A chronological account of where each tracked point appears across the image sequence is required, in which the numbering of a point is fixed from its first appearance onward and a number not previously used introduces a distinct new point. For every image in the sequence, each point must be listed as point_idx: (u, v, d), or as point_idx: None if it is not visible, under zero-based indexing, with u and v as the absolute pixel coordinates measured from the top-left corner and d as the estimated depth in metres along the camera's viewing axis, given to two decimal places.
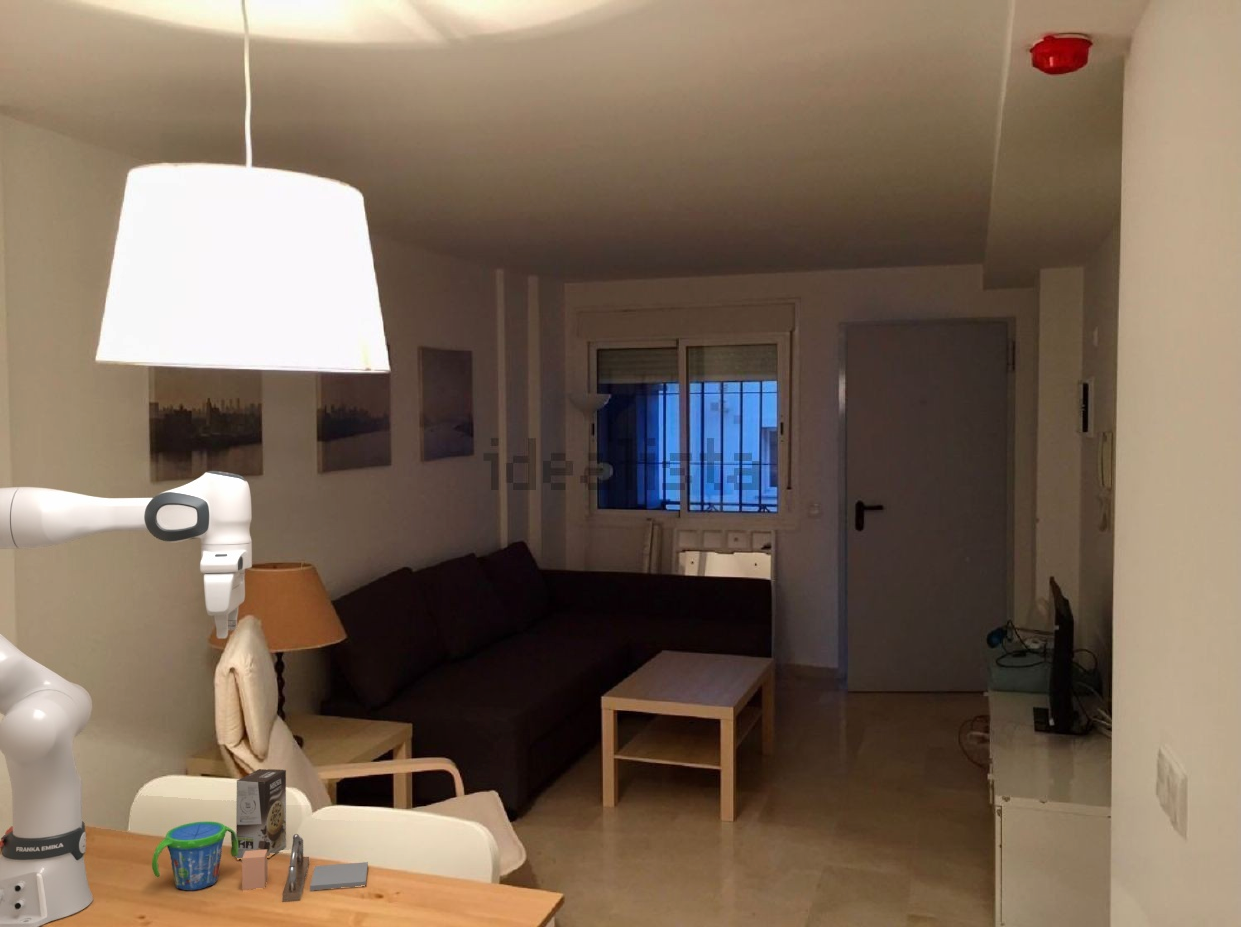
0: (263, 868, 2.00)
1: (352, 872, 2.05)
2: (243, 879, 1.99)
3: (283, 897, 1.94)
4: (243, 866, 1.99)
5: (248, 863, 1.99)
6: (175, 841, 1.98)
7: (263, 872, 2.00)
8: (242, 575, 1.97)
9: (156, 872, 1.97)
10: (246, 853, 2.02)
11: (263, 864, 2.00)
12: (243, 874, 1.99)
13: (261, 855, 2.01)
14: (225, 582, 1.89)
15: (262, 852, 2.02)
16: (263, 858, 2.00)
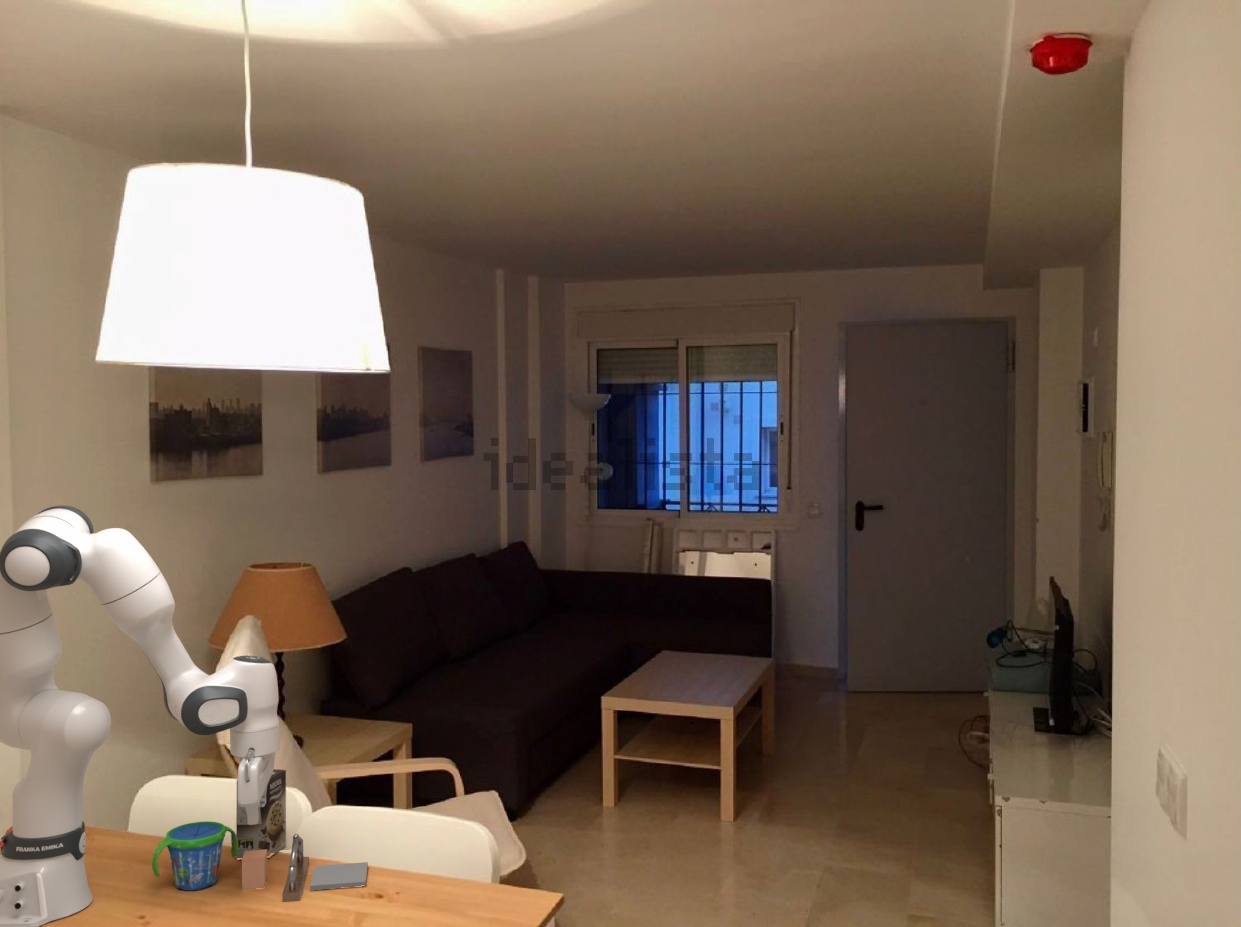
0: (263, 868, 2.00)
1: (352, 872, 2.05)
2: (243, 879, 1.99)
3: (283, 897, 1.94)
4: (243, 866, 1.99)
5: (248, 863, 1.99)
6: (175, 841, 1.98)
7: (263, 872, 2.00)
8: None
9: (156, 872, 1.97)
10: (246, 853, 2.02)
11: (263, 864, 2.00)
12: (243, 874, 1.99)
13: (261, 855, 2.01)
14: None
15: (262, 852, 2.02)
16: (263, 858, 2.00)
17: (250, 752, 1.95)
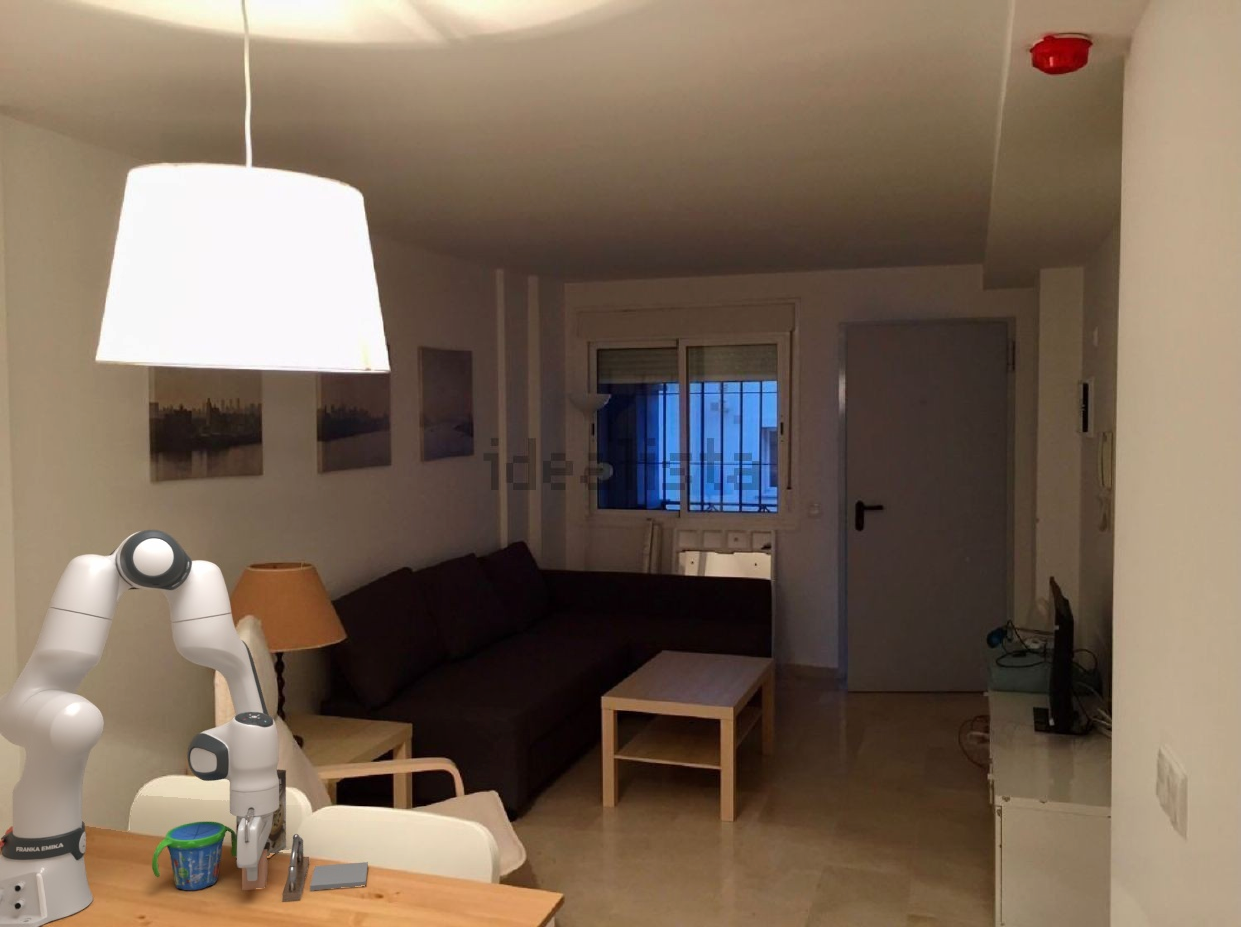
0: (263, 868, 2.00)
1: (352, 872, 2.05)
2: (243, 879, 1.99)
3: (283, 897, 1.94)
4: None
5: None
6: (175, 841, 1.98)
7: (263, 872, 2.00)
8: None
9: (156, 872, 1.97)
10: None
11: (263, 864, 2.00)
12: (243, 874, 1.99)
13: (261, 855, 2.01)
14: None
15: (262, 852, 2.02)
16: (263, 858, 2.00)
17: (250, 812, 1.95)
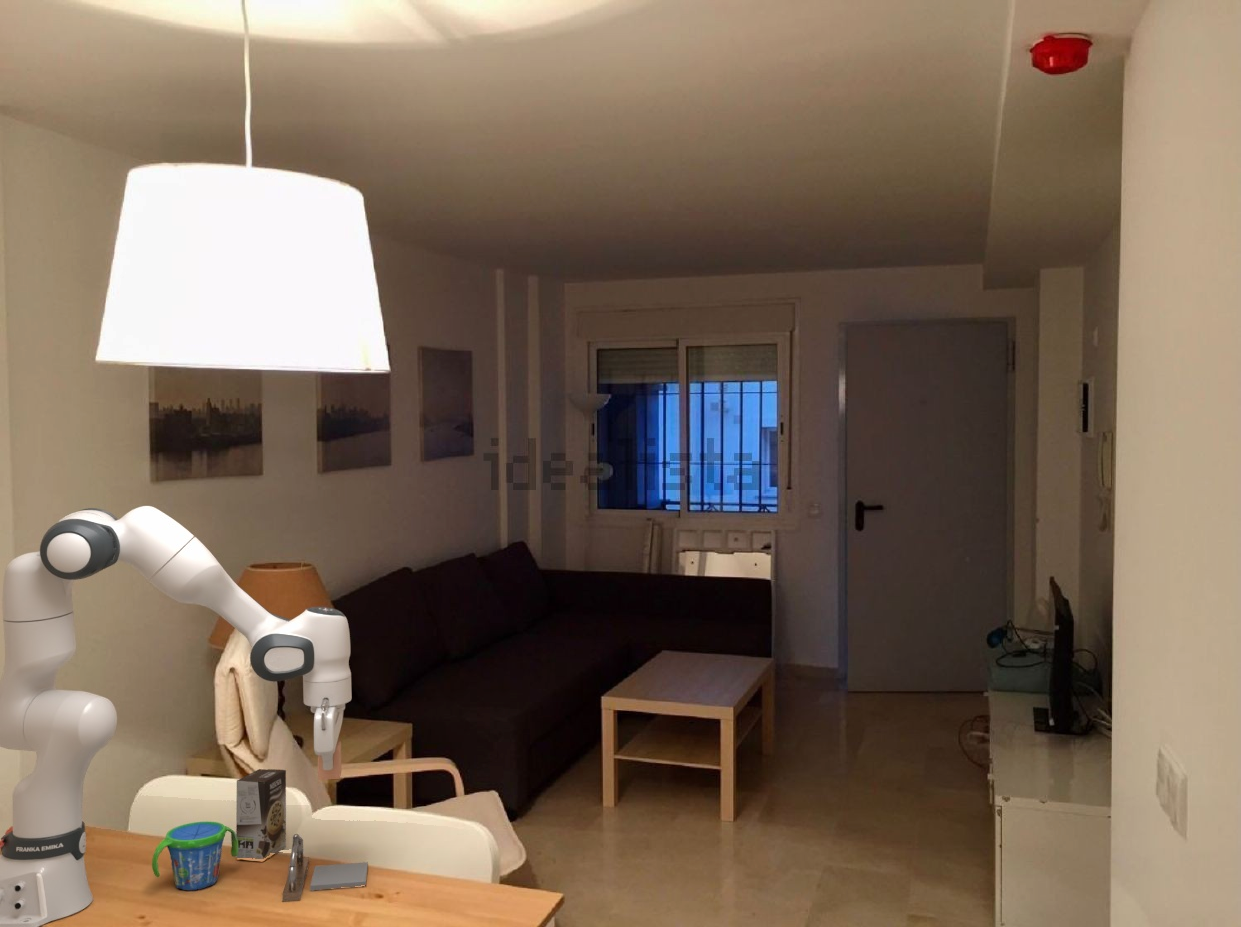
0: (338, 758, 2.02)
1: (352, 872, 2.05)
2: (319, 768, 2.02)
3: (283, 897, 1.94)
4: (318, 756, 2.01)
5: None
6: (175, 841, 1.98)
7: (338, 762, 2.02)
8: None
9: (156, 872, 1.97)
10: None
11: (338, 754, 2.02)
12: (319, 763, 2.01)
13: (336, 746, 2.03)
14: None
15: None
16: (338, 748, 2.02)
17: (325, 701, 1.97)
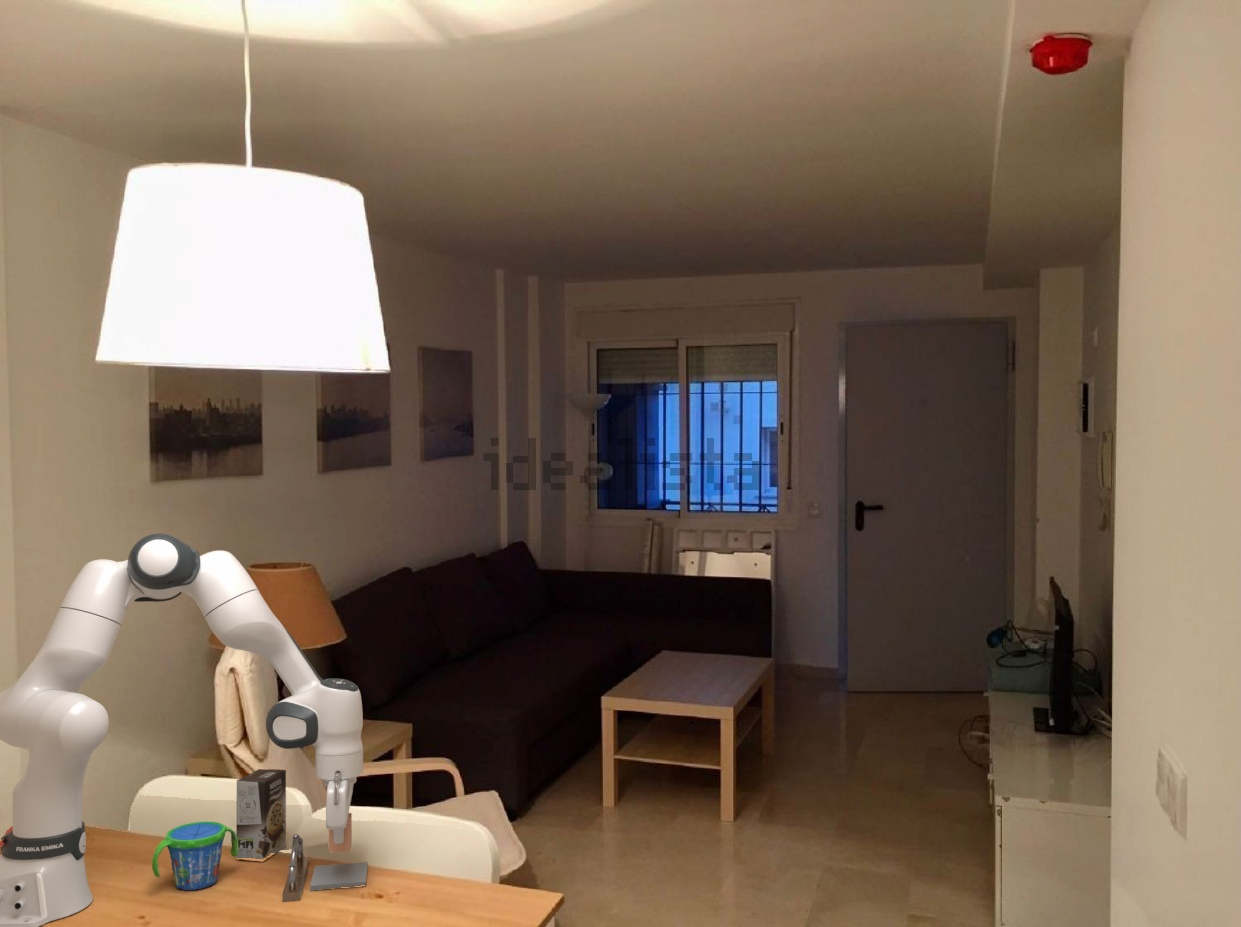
0: (349, 831, 2.03)
1: (352, 872, 2.05)
2: (330, 841, 2.02)
3: (283, 897, 1.94)
4: None
5: None
6: (175, 841, 1.98)
7: (349, 835, 2.03)
8: None
9: (156, 872, 1.97)
10: None
11: (349, 827, 2.03)
12: (330, 836, 2.02)
13: None
14: None
15: None
16: (349, 821, 2.03)
17: (338, 775, 1.98)
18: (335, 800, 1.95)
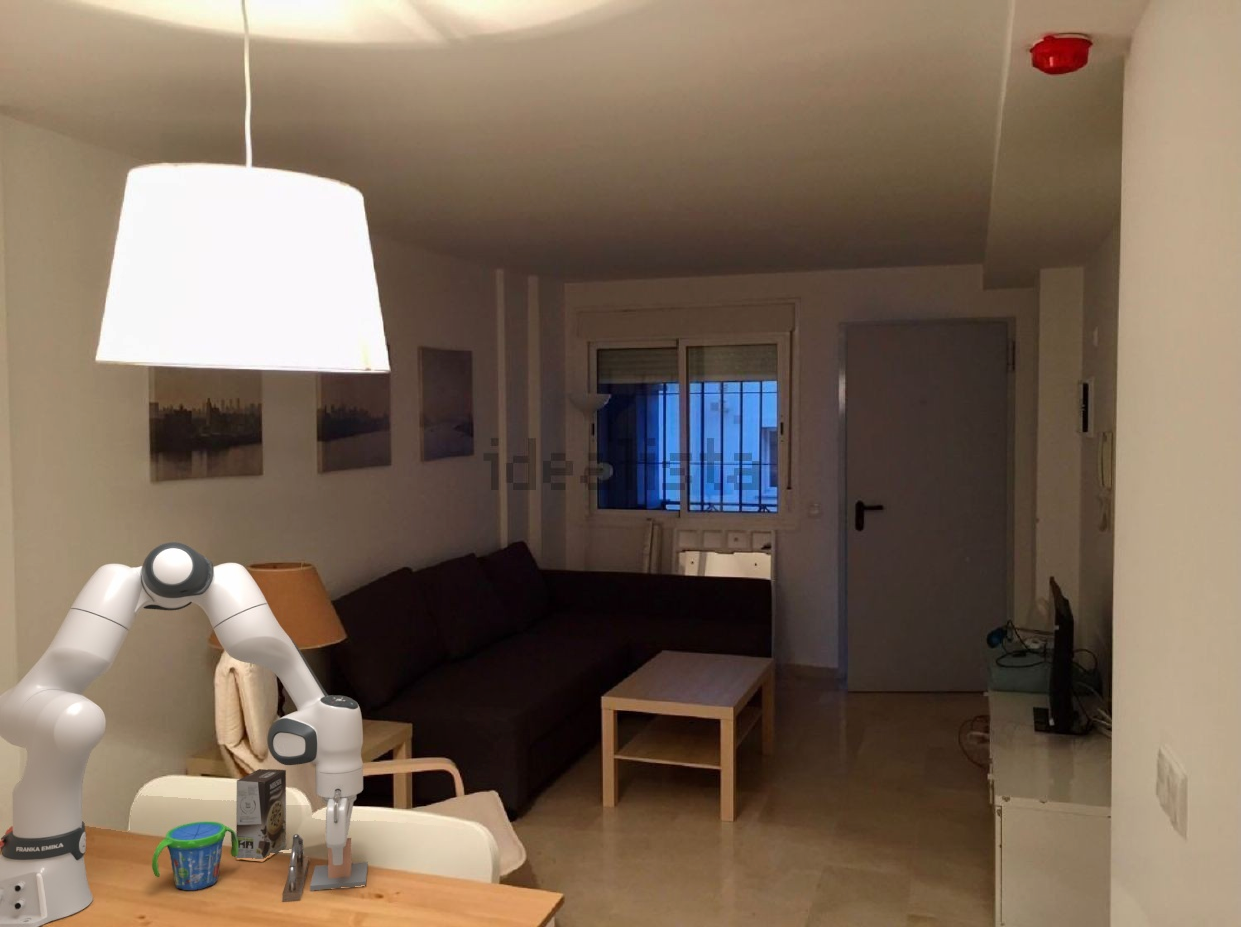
0: (349, 856, 2.03)
1: (352, 872, 2.05)
2: (329, 867, 2.02)
3: (283, 897, 1.94)
4: (329, 854, 2.02)
5: None
6: (175, 841, 1.98)
7: (349, 860, 2.03)
8: None
9: (156, 872, 1.97)
10: None
11: (349, 852, 2.03)
12: (329, 862, 2.02)
13: (346, 844, 2.04)
14: None
15: (347, 841, 2.05)
16: (349, 846, 2.03)
17: (337, 793, 1.98)
18: (335, 818, 1.94)
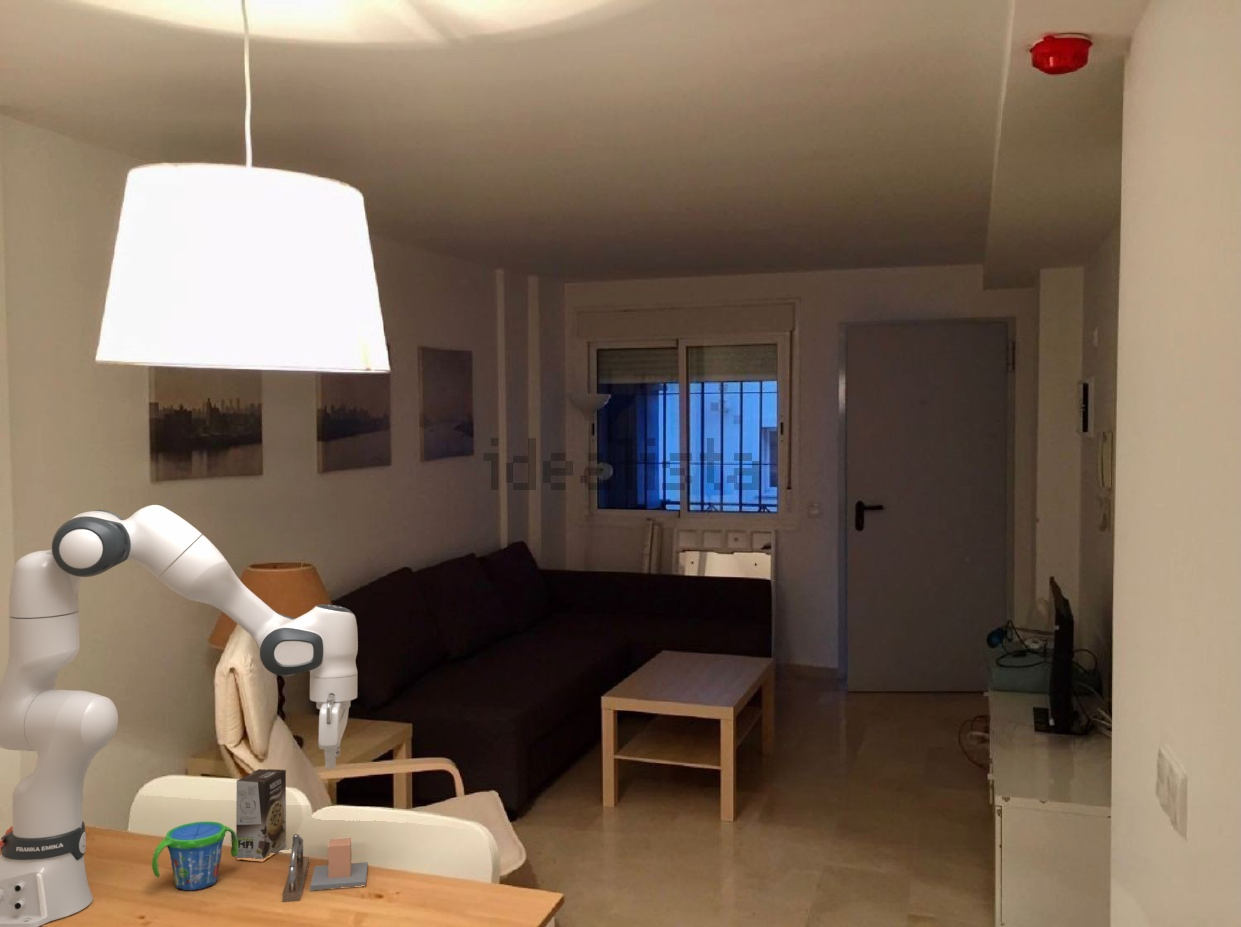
0: (349, 856, 2.03)
1: (352, 872, 2.05)
2: (329, 867, 2.02)
3: (283, 897, 1.94)
4: (329, 854, 2.02)
5: (334, 851, 2.02)
6: (175, 841, 1.98)
7: (349, 860, 2.03)
8: None
9: (156, 872, 1.97)
10: (331, 841, 2.05)
11: (349, 852, 2.03)
12: (329, 862, 2.02)
13: (346, 844, 2.04)
14: None
15: (347, 841, 2.05)
16: (349, 846, 2.03)
17: (331, 696, 1.99)
18: (328, 719, 1.95)
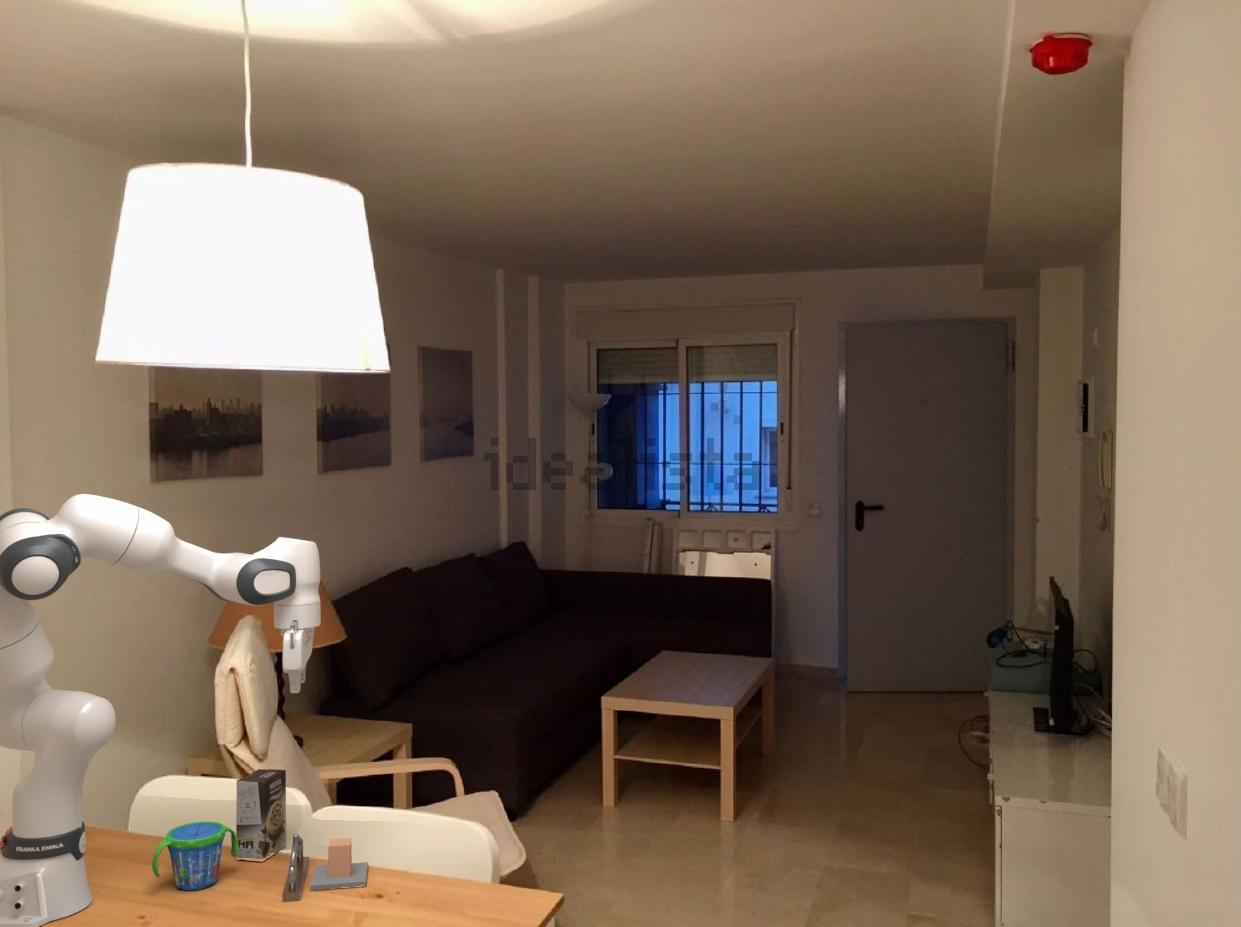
0: (349, 856, 2.03)
1: (352, 872, 2.05)
2: (329, 867, 2.02)
3: (283, 897, 1.94)
4: (329, 854, 2.02)
5: (334, 851, 2.02)
6: (175, 841, 1.98)
7: (349, 860, 2.03)
8: None
9: (156, 872, 1.97)
10: (331, 841, 2.05)
11: (349, 852, 2.03)
12: (329, 862, 2.02)
13: (346, 844, 2.04)
14: None
15: (347, 841, 2.05)
16: (349, 846, 2.03)
17: (294, 622, 2.05)
18: (291, 644, 2.02)
